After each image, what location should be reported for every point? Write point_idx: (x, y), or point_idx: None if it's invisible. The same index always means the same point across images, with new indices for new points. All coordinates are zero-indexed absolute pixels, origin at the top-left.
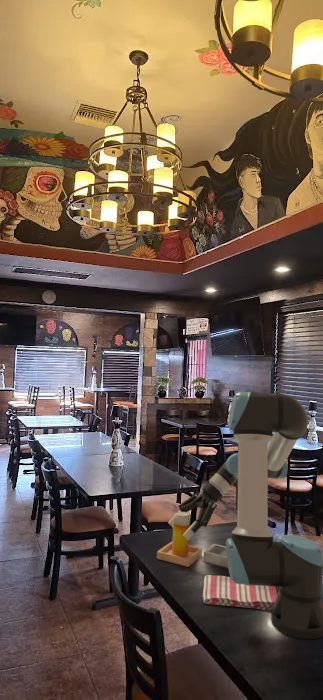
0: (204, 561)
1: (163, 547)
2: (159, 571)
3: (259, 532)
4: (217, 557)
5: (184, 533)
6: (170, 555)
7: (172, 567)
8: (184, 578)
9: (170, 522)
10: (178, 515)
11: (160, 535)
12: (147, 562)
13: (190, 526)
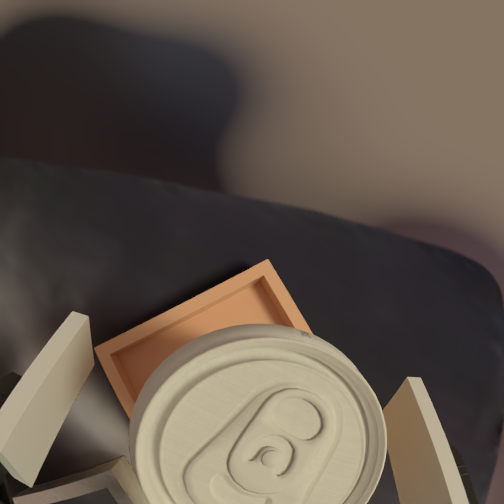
0: (117, 458)
1: (305, 325)
2: (138, 203)
3: None
4: (54, 486)
5: (74, 325)
6: (192, 299)
7: (138, 278)
8: (37, 255)
9: (408, 393)
10: (213, 348)
11: (473, 421)
12: (242, 209)
13: (33, 387)
